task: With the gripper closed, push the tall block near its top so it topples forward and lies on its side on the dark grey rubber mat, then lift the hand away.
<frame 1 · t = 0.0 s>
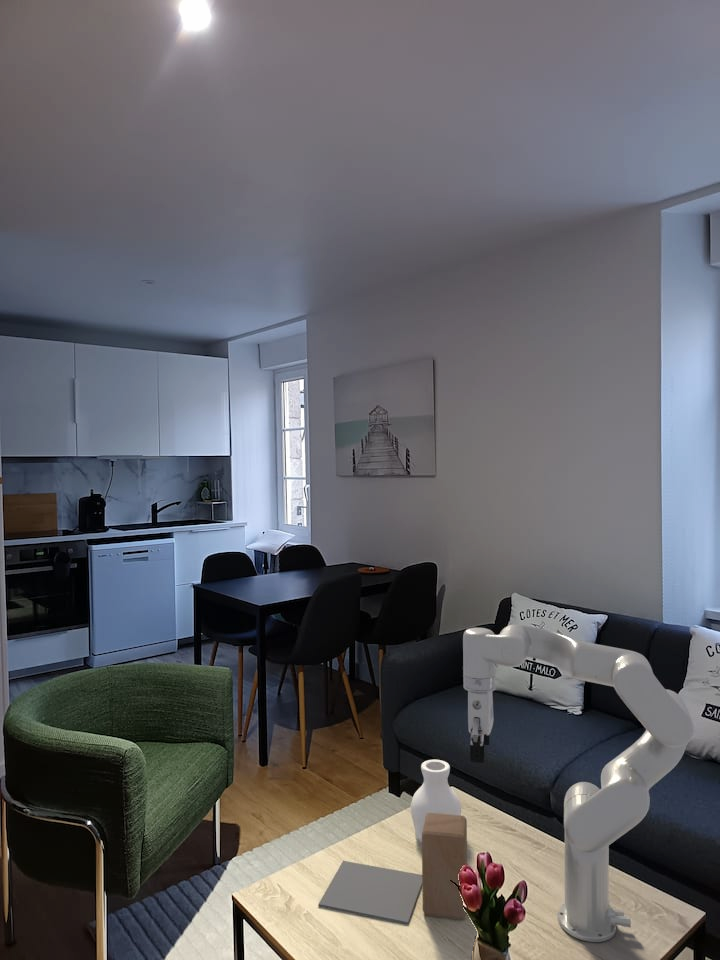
hand: (480, 752, 160), 37 cm above the table, tool pointing down, fingers open, 9 cm apart
vase: (436, 835, 191), on the table
block: (445, 906, 161), on the table
mat: (373, 891, 166), on the table
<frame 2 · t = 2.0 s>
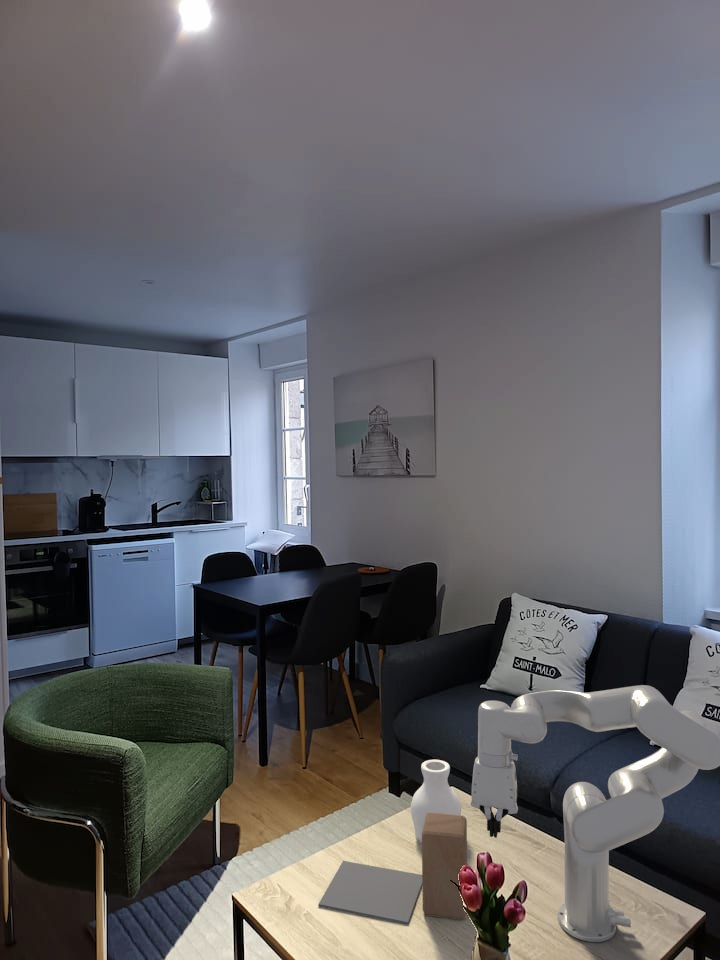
hand: (493, 834, 157), 19 cm above the table, tool pointing down, fingers closed
nothing on the table moved.
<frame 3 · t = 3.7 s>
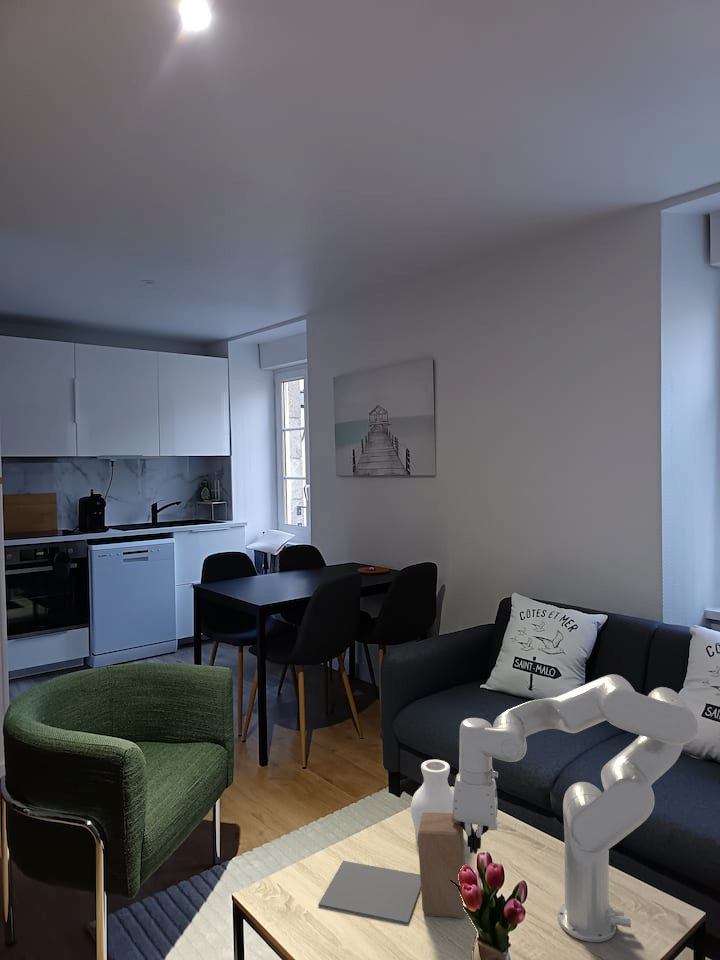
hand: (474, 850, 158), 15 cm above the table, tool pointing down, fingers closed
block: (445, 905, 161), on the table, touching gripper
everything else where it was.
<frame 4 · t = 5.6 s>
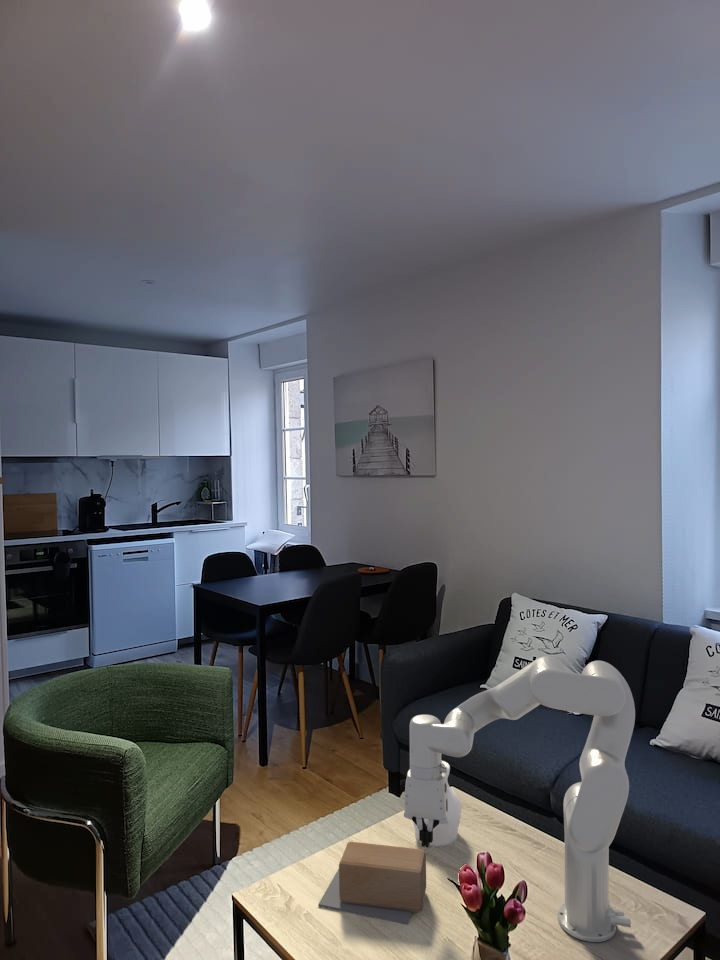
hand: (426, 843, 162), 14 cm above the table, tool pointing down, fingers closed
block: (425, 880, 162), point 6 cm above the table, touching mat
everything else where it was.
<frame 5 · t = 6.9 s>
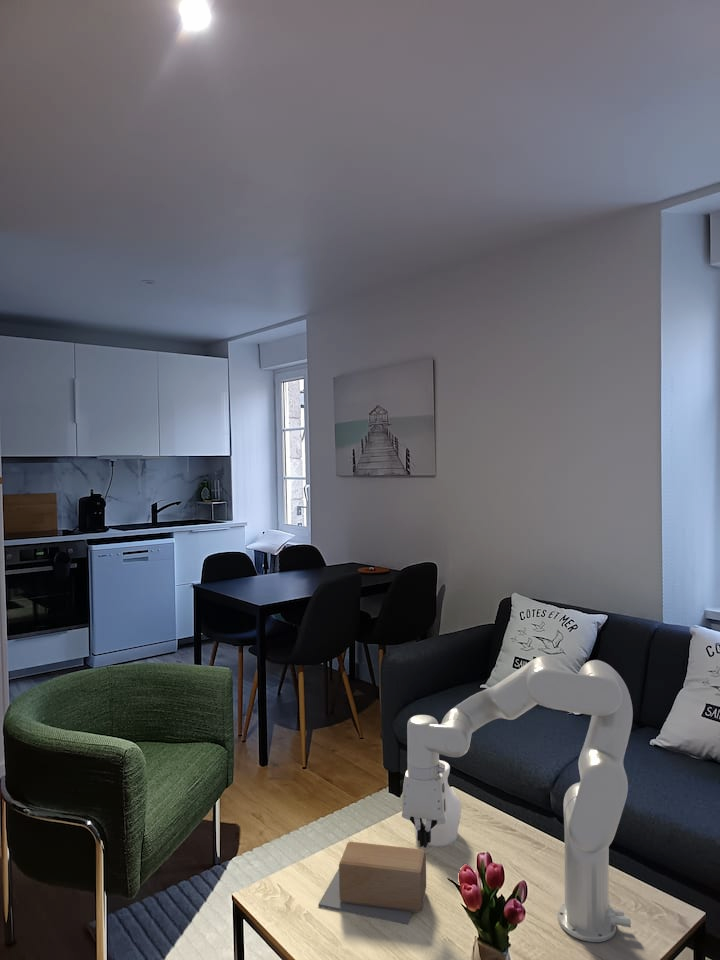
hand: (424, 844, 162), 14 cm above the table, tool pointing down, fingers closed
nothing on the table moved.
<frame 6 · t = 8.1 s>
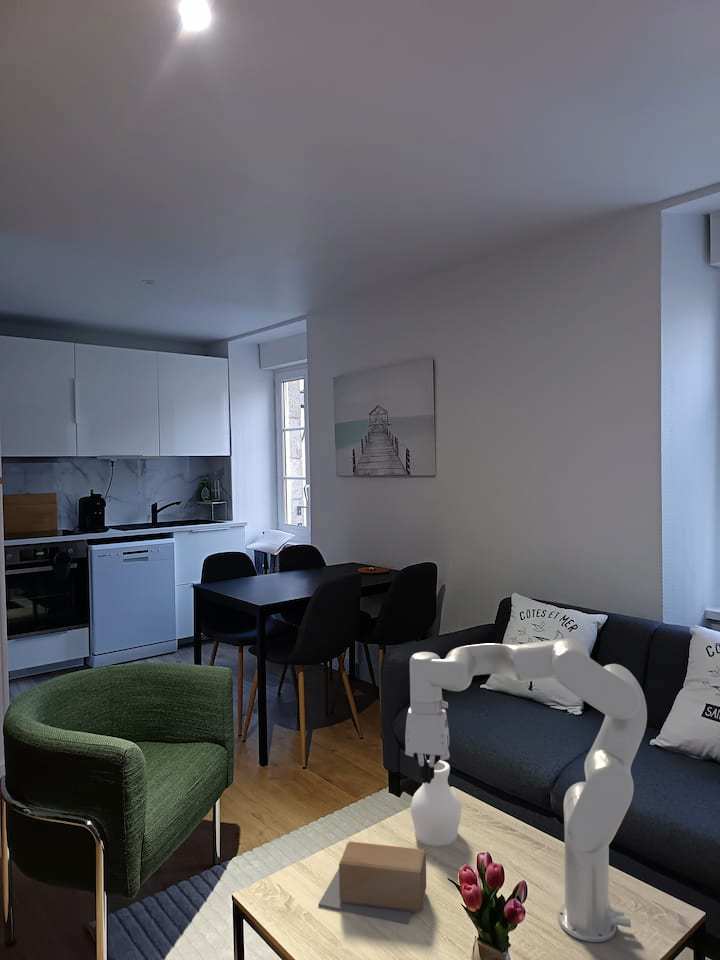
hand: (427, 780, 162), 29 cm above the table, tool pointing down, fingers closed
nothing on the table moved.
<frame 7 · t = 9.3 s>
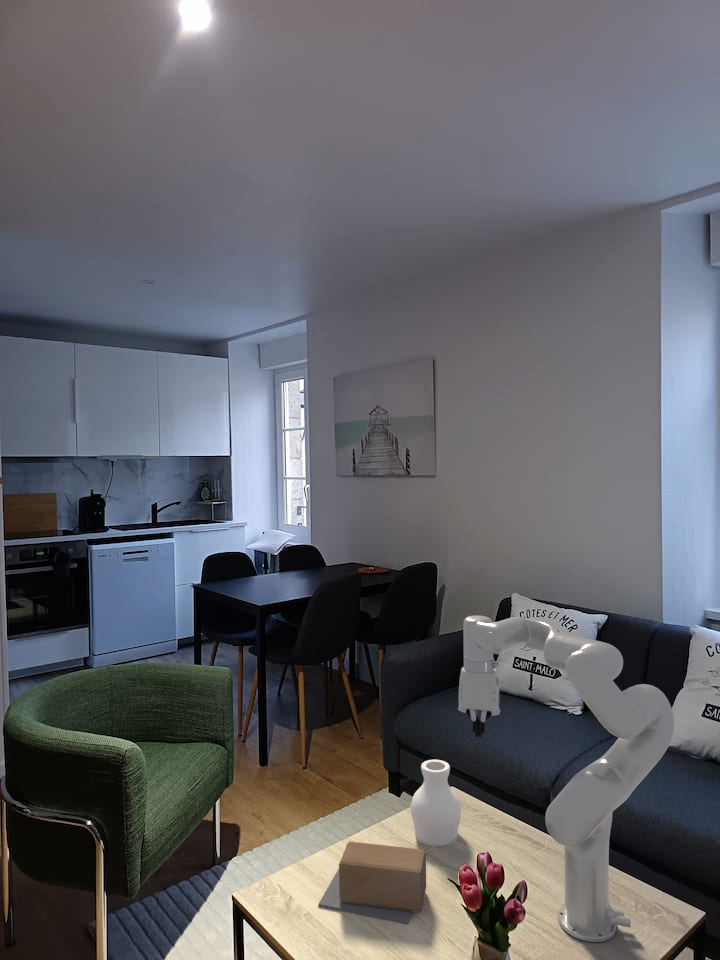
hand: (479, 735, 174), 35 cm above the table, tool pointing down, fingers closed
nothing on the table moved.
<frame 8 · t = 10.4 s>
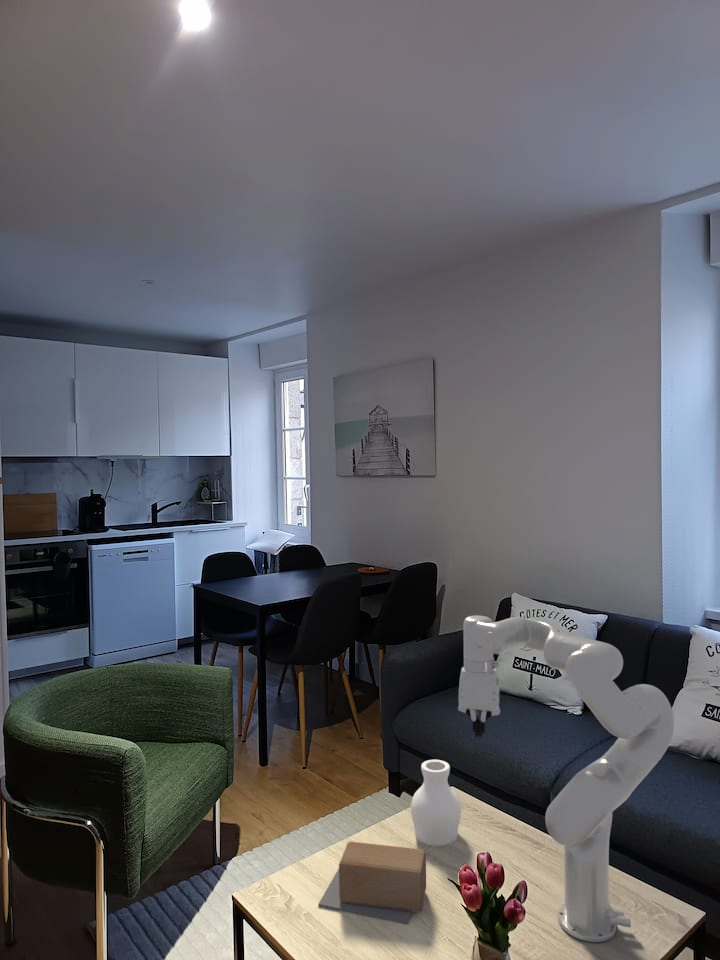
hand: (479, 734, 174), 35 cm above the table, tool pointing down, fingers closed
nothing on the table moved.
at the end: block tilted 90°; block touching mat; block inside the target area (4.7 cm from its centre), point 5.6 cm above the table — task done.
